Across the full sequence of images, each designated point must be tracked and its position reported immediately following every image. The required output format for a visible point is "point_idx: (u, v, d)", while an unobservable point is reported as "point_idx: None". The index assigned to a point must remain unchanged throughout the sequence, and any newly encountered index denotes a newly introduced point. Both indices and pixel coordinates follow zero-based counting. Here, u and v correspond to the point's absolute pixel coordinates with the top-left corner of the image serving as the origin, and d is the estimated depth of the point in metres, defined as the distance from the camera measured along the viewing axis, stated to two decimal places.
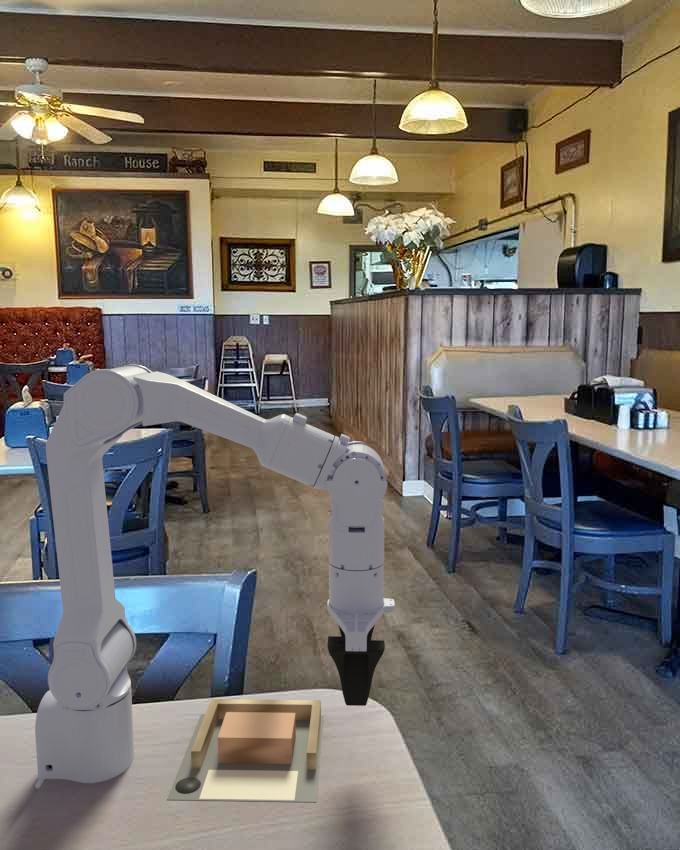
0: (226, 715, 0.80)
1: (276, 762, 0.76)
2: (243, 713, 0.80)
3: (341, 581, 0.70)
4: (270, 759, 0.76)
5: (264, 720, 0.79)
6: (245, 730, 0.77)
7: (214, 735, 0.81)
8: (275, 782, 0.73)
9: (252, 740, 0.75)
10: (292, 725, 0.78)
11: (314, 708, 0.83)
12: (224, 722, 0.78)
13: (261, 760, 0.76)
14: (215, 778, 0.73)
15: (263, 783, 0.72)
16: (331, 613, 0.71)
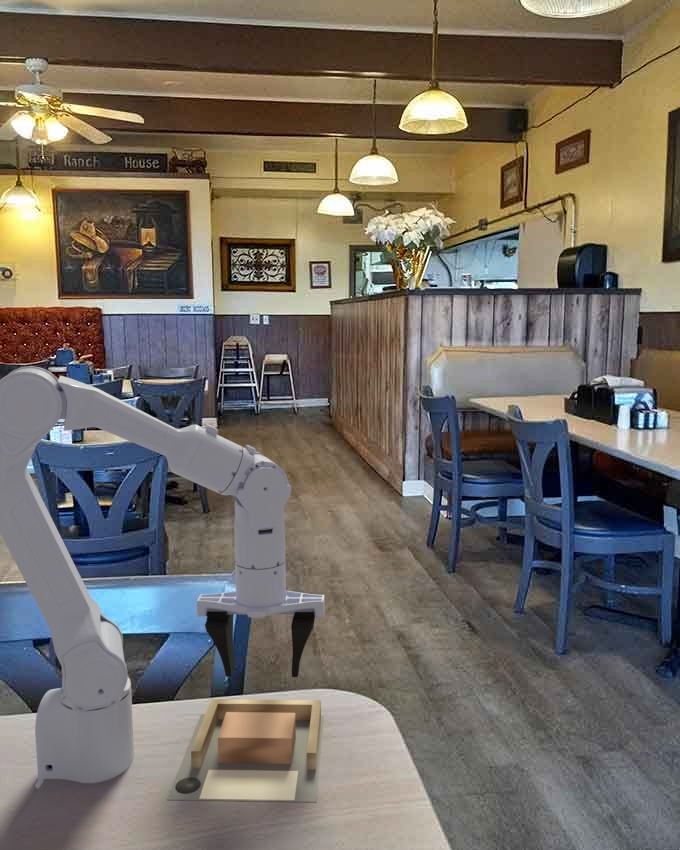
0: (226, 715, 0.80)
1: (276, 762, 0.76)
2: (243, 713, 0.80)
3: None
4: (270, 759, 0.76)
5: (264, 720, 0.79)
6: (245, 730, 0.77)
7: (214, 735, 0.81)
8: (275, 782, 0.73)
9: (252, 740, 0.75)
10: (292, 725, 0.78)
11: (314, 708, 0.83)
12: (224, 722, 0.78)
13: (261, 760, 0.76)
14: (215, 778, 0.73)
15: (263, 783, 0.72)
16: None
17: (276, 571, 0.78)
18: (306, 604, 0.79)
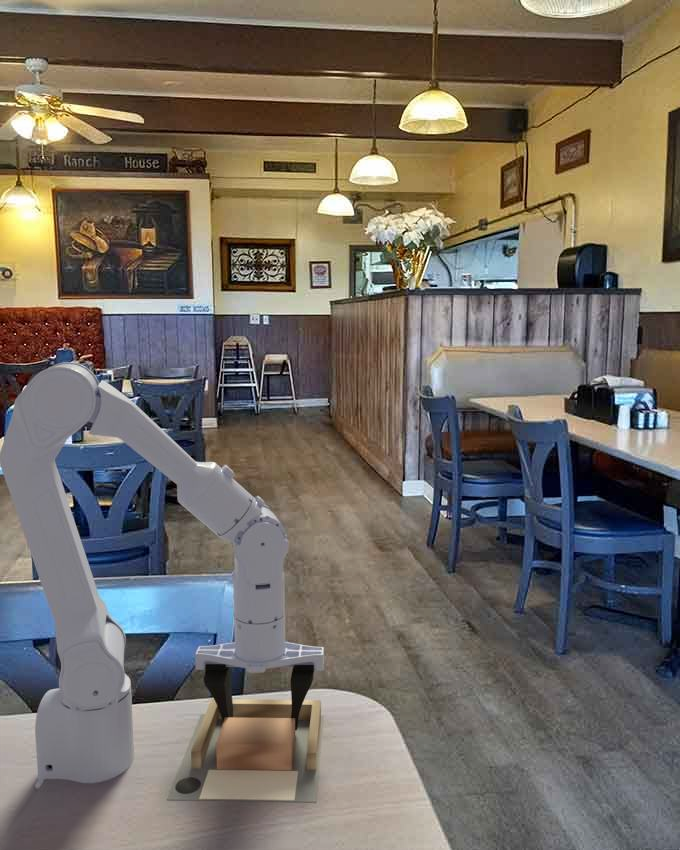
0: (225, 720, 0.79)
1: (275, 768, 0.75)
2: (242, 718, 0.79)
3: None
4: (269, 765, 0.75)
5: (263, 726, 0.78)
6: (244, 735, 0.76)
7: (214, 735, 0.81)
8: (275, 782, 0.73)
9: (251, 746, 0.74)
10: (292, 731, 0.77)
11: (314, 708, 0.83)
12: (223, 728, 0.77)
13: (260, 767, 0.75)
14: (215, 778, 0.73)
15: (263, 783, 0.72)
16: None
17: (276, 625, 0.77)
18: (305, 658, 0.78)
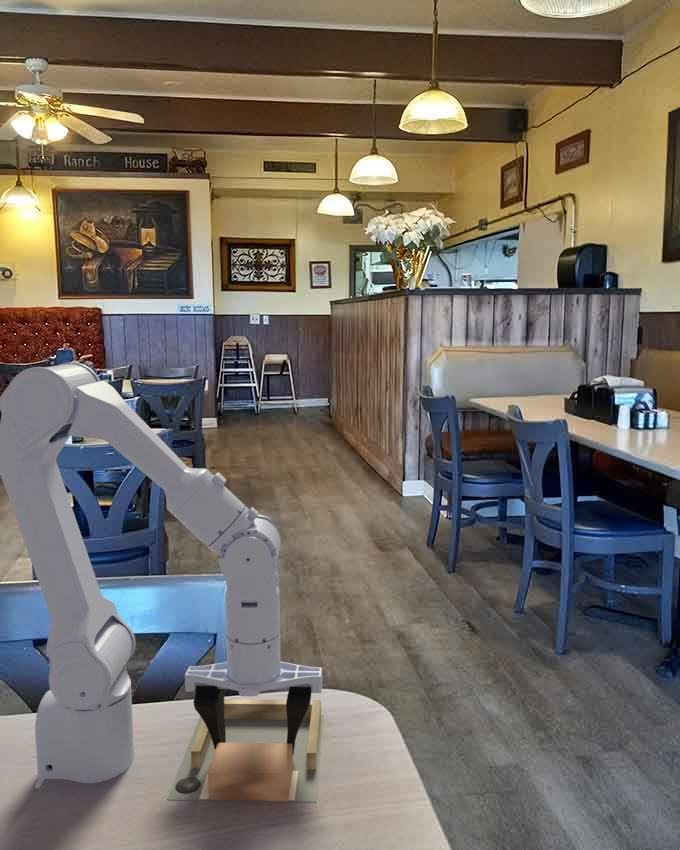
0: (217, 746, 0.74)
1: (271, 799, 0.70)
2: (236, 744, 0.74)
3: None
4: (265, 796, 0.70)
5: (258, 752, 0.73)
6: (238, 763, 0.71)
7: None
8: None
9: (245, 775, 0.69)
10: (288, 758, 0.72)
11: (314, 708, 0.83)
12: (215, 754, 0.72)
13: (255, 797, 0.70)
14: None
15: None
16: None
17: (270, 645, 0.72)
18: (302, 679, 0.73)
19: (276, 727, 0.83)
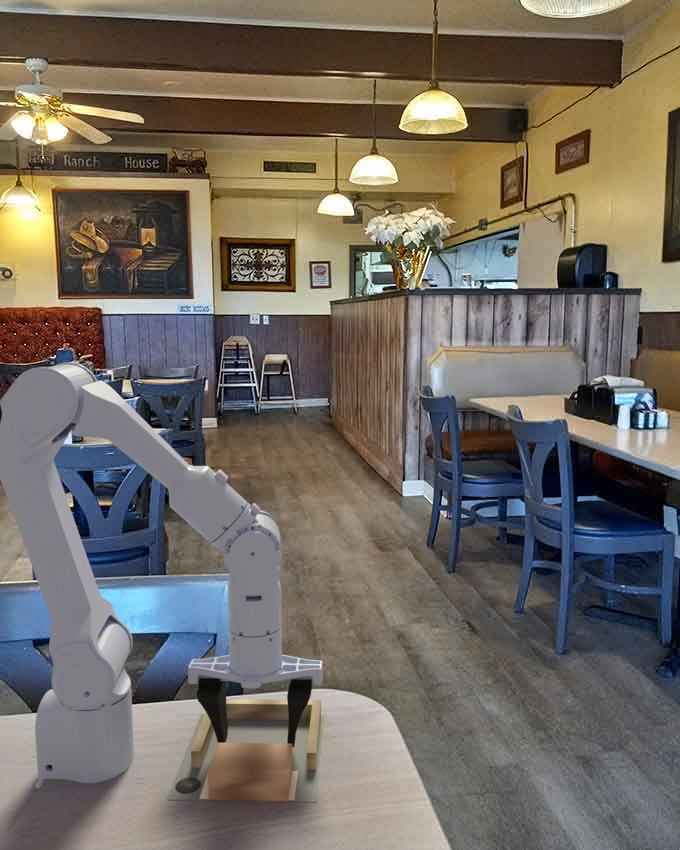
0: (217, 746, 0.74)
1: (271, 799, 0.70)
2: (236, 744, 0.74)
3: None
4: (265, 796, 0.70)
5: (258, 752, 0.73)
6: (238, 763, 0.71)
7: (214, 735, 0.81)
8: None
9: (245, 775, 0.69)
10: (288, 758, 0.72)
11: (314, 708, 0.83)
12: (215, 754, 0.72)
13: (255, 797, 0.70)
14: None
15: None
16: None
17: (272, 638, 0.74)
18: (303, 672, 0.75)
19: (276, 727, 0.83)
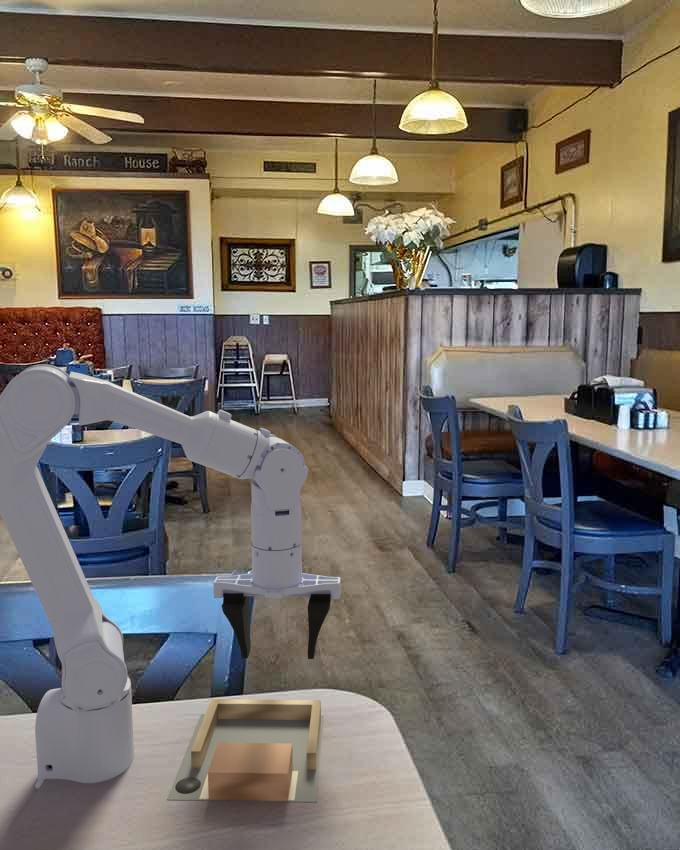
0: (217, 746, 0.74)
1: (271, 799, 0.70)
2: (236, 744, 0.74)
3: None
4: (265, 796, 0.70)
5: (258, 752, 0.73)
6: (238, 763, 0.71)
7: (214, 735, 0.81)
8: None
9: (245, 775, 0.69)
10: (288, 758, 0.72)
11: (314, 708, 0.83)
12: (215, 754, 0.72)
13: (255, 797, 0.70)
14: None
15: None
16: None
17: (293, 552, 0.78)
18: (322, 586, 0.79)
19: (276, 727, 0.83)
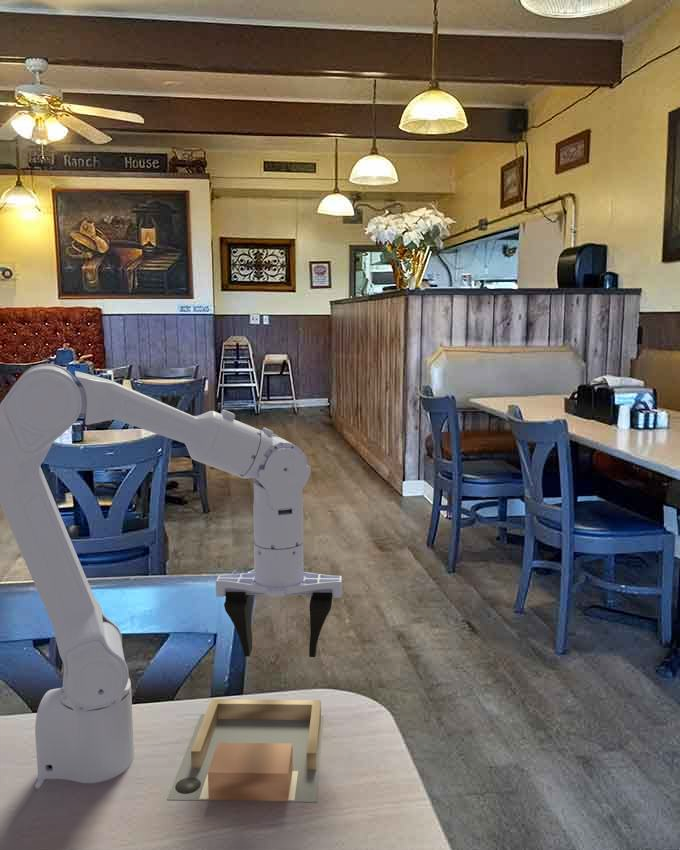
0: (217, 746, 0.74)
1: (271, 799, 0.70)
2: (236, 744, 0.74)
3: None
4: (265, 796, 0.70)
5: (258, 752, 0.73)
6: (238, 763, 0.71)
7: (214, 735, 0.81)
8: None
9: (245, 775, 0.69)
10: (288, 758, 0.72)
11: (314, 708, 0.83)
12: (215, 754, 0.72)
13: (255, 797, 0.70)
14: None
15: None
16: None
17: (295, 551, 0.79)
18: (324, 584, 0.80)
19: (276, 727, 0.83)
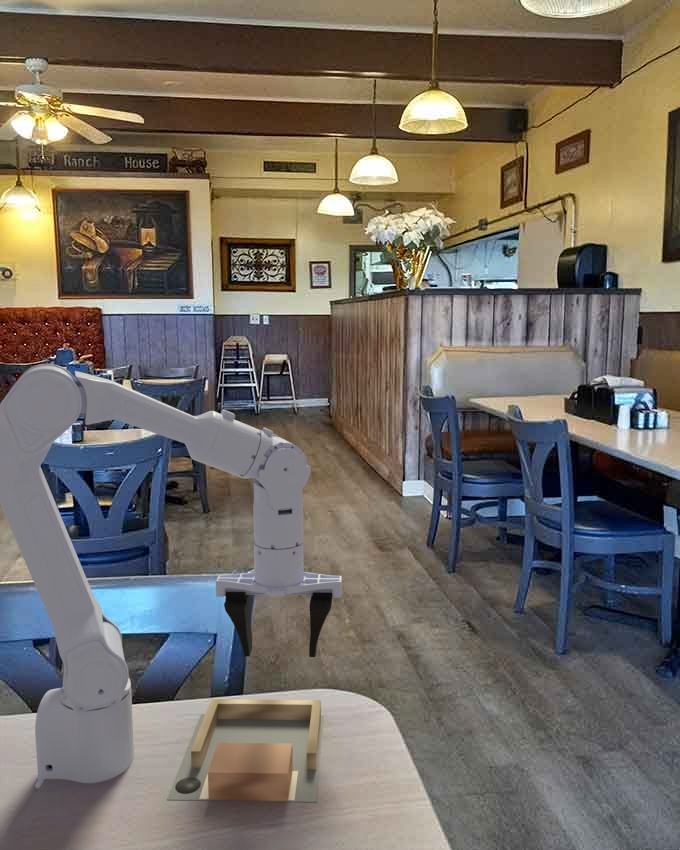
0: (217, 746, 0.74)
1: (271, 799, 0.70)
2: (236, 744, 0.74)
3: None
4: (265, 796, 0.70)
5: (258, 752, 0.73)
6: (238, 763, 0.71)
7: (214, 735, 0.81)
8: None
9: (245, 775, 0.69)
10: (288, 758, 0.72)
11: (314, 708, 0.83)
12: (215, 754, 0.72)
13: (255, 797, 0.70)
14: None
15: None
16: None
17: (295, 551, 0.79)
18: (324, 584, 0.80)
19: (276, 727, 0.83)
